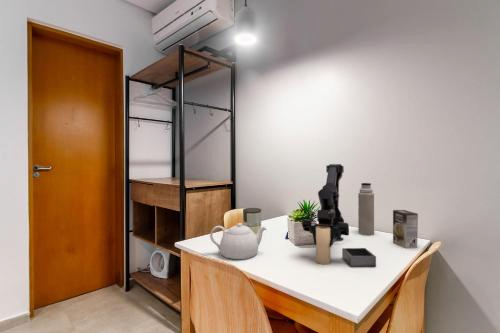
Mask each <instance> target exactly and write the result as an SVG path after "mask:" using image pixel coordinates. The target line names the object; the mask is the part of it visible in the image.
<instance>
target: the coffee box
mask: <svg viewBox="0 0 500 333" xmlns="http://www.w3.org/2000/svg"><path fill="white" fill-rule="evenodd" d="M418 224H419V214H418V213H416V212H414V211H413V212H412V211H410V210H405V209H393V210H392V226H393V227H392V242H393V243H394V244H396V245H398V246H400V247H402V248H404V249H415V248H416V249H417V248H418V236H419V235H418V232H419V230H418V229H419V228H418V227H419V226H418Z"/></svg>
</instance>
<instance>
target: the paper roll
mask: <svg viewBox="0 0 500 333" xmlns="http://www.w3.org/2000/svg"><path fill="white" fill-rule="evenodd" d="M330 240H331V239H330V227H328V226H317V227H316V245H315V257H316V258H315V262H316V263H317V264H319V265H330V264H331V261H332V260H331V256H332V255H331V247H330Z"/></svg>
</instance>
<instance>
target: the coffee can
mask: <svg viewBox="0 0 500 333" xmlns="http://www.w3.org/2000/svg"><path fill="white" fill-rule="evenodd" d="M242 216H243V217H242V220H243V223H242V225H243V226H247V227H249V228H250V229H251V230H252V231H253V233H254V234H255V235H256V234H257V232H258V230H259V229H260V228H261V227H262V209H261V208H257V207H248V208H247V207H246V208H244V209H242Z"/></svg>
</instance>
